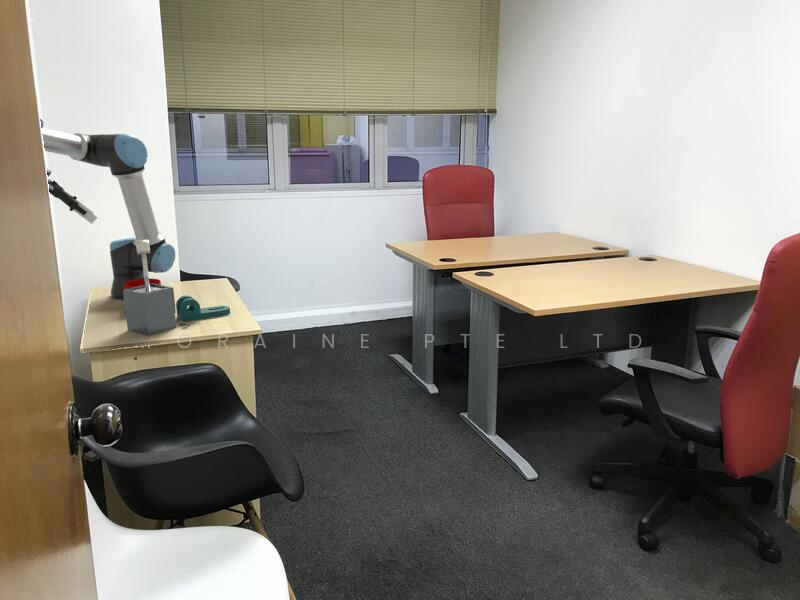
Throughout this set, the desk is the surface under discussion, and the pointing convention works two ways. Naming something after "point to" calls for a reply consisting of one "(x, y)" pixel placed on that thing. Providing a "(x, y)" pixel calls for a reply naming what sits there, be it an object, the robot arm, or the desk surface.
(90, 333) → the desk surface
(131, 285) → the ceramic cup
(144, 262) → the plunger
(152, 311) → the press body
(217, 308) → the bracket
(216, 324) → the desk surface
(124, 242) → the robot arm
